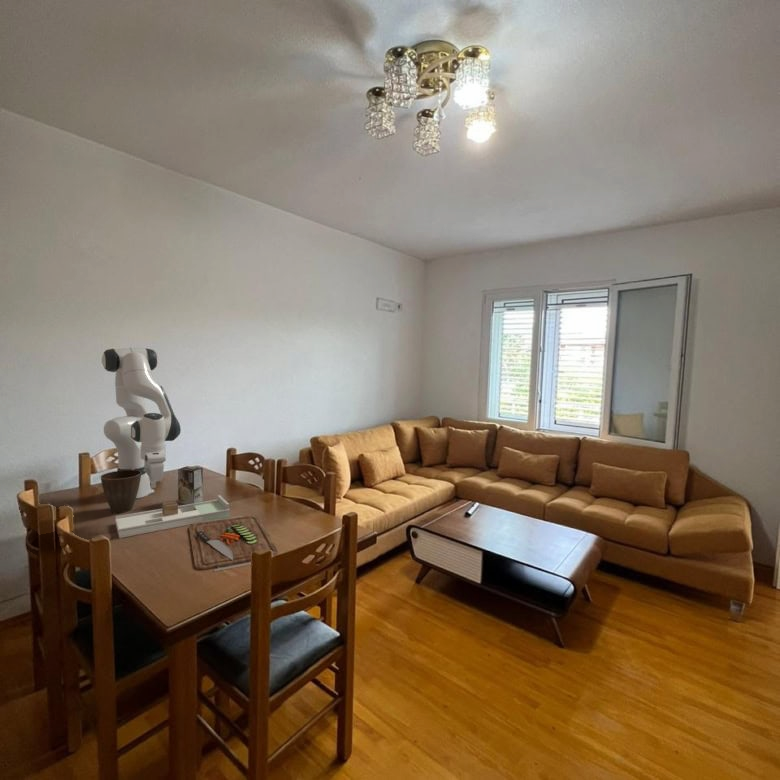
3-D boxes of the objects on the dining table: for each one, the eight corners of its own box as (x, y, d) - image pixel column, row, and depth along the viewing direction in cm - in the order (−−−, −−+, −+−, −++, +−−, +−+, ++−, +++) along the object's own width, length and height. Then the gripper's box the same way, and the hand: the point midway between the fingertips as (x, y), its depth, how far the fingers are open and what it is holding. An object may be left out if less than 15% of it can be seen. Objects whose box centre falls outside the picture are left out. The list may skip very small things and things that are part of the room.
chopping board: (281, 560, 144) (281, 551, 144) (196, 576, 131) (196, 567, 131) (255, 516, 183) (255, 509, 183) (188, 525, 170) (188, 518, 170)
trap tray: (115, 524, 168) (115, 510, 167) (219, 506, 192) (219, 494, 192) (119, 538, 155) (119, 523, 155) (229, 516, 180) (229, 504, 179)
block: (162, 512, 175) (162, 503, 175) (175, 510, 178) (175, 501, 178) (164, 516, 171) (164, 506, 171) (177, 513, 175) (177, 504, 174)
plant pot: (102, 519, 172) (102, 480, 171) (99, 508, 184) (98, 472, 183) (144, 511, 182) (144, 475, 181) (138, 502, 193) (138, 468, 192)
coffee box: (203, 500, 198) (203, 467, 197) (194, 505, 192) (194, 470, 191) (186, 498, 200) (187, 465, 199) (177, 503, 194) (177, 469, 193)
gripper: (140, 449, 176) (140, 481, 177) (148, 459, 160) (148, 494, 161) (157, 447, 180) (156, 479, 181) (166, 457, 164) (166, 492, 165)
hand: (152, 486), depth 171 cm, fingers closed
